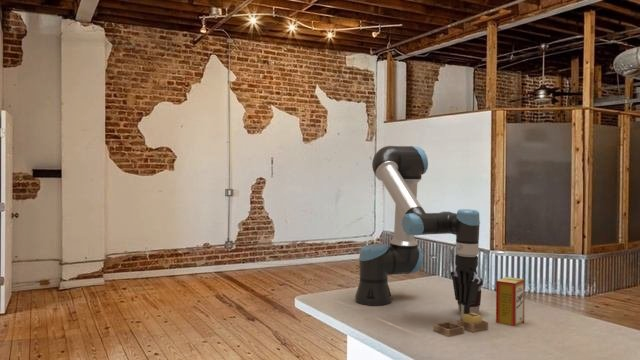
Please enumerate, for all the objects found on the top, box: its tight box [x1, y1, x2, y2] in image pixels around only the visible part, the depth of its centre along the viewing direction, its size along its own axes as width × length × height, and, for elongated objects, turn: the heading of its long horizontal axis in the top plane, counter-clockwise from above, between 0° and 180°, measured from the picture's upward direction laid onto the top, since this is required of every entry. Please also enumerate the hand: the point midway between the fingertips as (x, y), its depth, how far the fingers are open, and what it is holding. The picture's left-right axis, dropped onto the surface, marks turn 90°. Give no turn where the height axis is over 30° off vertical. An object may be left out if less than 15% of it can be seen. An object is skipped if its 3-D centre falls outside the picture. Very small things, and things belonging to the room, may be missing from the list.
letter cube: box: [463, 313, 483, 324], centre depth 176 cm, size 4×4×5 cm
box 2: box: [457, 319, 489, 334], centre depth 176 cm, size 7×7×3 cm
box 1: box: [433, 321, 465, 337], centre depth 172 cm, size 7×7×3 cm
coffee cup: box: [456, 279, 484, 315], centre depth 195 cm, size 10×10×15 cm
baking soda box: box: [495, 276, 526, 327], centre depth 185 cm, size 10×6×16 cm
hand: (464, 322), depth 179 cm, fingers closed
